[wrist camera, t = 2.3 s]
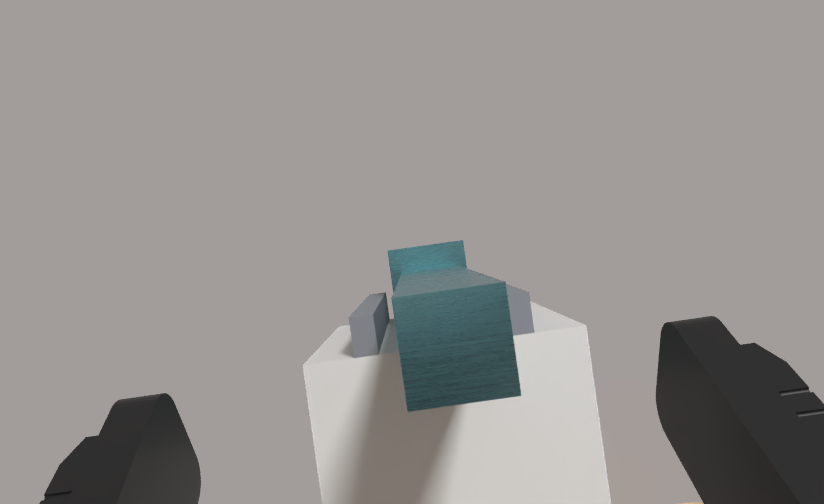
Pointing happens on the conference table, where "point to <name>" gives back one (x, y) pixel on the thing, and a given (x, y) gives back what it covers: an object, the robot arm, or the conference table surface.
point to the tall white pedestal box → (457, 420)
